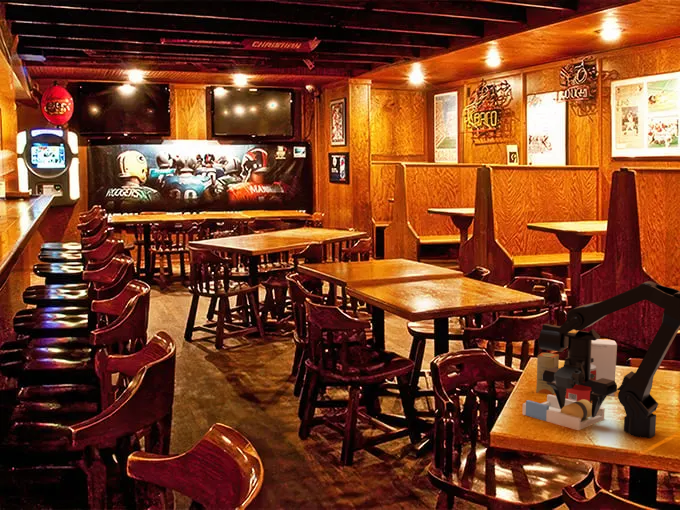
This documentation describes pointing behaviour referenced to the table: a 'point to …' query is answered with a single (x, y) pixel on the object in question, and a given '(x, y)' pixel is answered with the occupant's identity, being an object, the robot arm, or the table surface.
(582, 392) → the canned food
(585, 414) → the banded tan cylinder
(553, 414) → the white storage bin
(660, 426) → the table surface
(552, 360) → the shoe polish box
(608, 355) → the skincare box
